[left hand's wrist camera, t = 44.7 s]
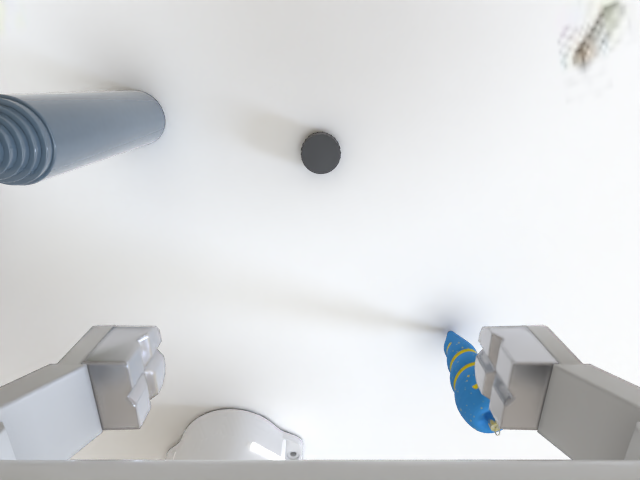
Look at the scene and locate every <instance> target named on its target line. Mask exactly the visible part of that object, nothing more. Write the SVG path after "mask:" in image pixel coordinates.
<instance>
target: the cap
mask: <svg viewBox="0 0 640 480" xmlns="http://www.w3.org/2000/svg"><path fill="white" fill-rule="evenodd" d="M301 150H302V152H301V157H302V161H303V163H304V165H305V166H306V168H307V169H309V170H310V171H312V172H314V173H317V174H325V173H328V172H330V171H332V170H333V169H334V168H335V167H336V166H337V164H338V163H339V160H340V153H341V152H340V146H339V145H338V141H336V139H335V138H334V137H333V136H332V135H330V134H327V133H323V132H319V133H318V132H317V133H313V134H312V135H310V136H309V137H308V138H307V139H305V142H304V143H303V147H302V149H301Z"/></svg>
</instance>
